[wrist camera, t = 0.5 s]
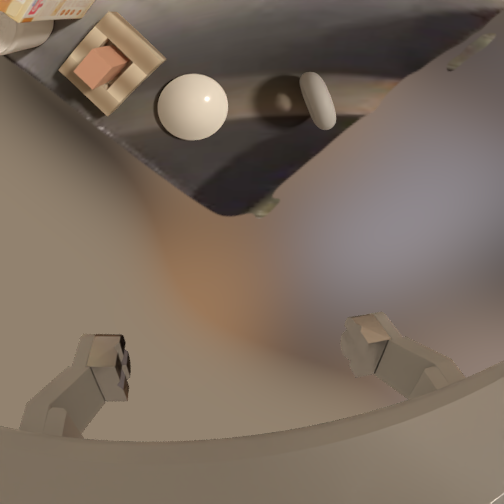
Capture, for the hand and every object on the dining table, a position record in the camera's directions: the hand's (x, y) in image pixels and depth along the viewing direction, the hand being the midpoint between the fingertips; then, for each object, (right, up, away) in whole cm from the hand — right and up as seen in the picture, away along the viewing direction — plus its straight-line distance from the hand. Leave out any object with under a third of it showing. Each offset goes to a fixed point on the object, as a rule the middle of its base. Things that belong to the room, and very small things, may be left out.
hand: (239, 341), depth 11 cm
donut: (+10, +30, +39) cm, 51 cm away
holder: (-23, +35, +33) cm, 53 cm away
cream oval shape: (-10, +28, +40) cm, 49 cm away
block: (-23, +35, +32) cm, 52 cm away
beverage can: (-38, +43, +26) cm, 63 cm away
